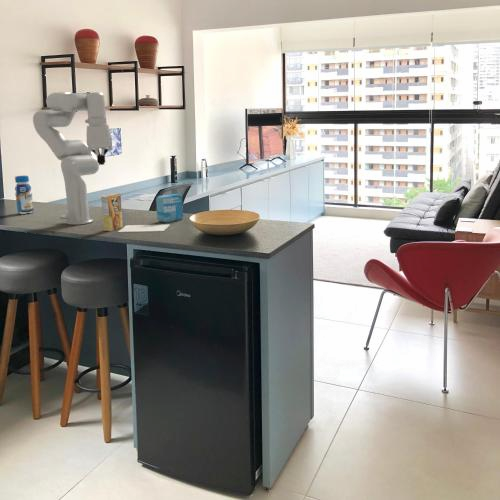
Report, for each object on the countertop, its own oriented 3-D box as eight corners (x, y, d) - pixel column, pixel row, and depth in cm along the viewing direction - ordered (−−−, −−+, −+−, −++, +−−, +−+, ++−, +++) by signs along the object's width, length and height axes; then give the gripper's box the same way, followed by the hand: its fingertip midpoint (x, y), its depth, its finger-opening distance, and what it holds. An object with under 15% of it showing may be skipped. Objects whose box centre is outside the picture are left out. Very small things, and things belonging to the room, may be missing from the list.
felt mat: (117, 232, 255) (117, 231, 254) (126, 226, 269) (126, 225, 269) (163, 231, 253) (163, 230, 253) (170, 224, 268) (170, 224, 268)
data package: (163, 222, 274) (161, 197, 271) (157, 221, 277) (155, 196, 275) (183, 219, 282) (182, 194, 280) (177, 218, 285) (176, 193, 283)
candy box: (115, 227, 267) (113, 193, 264) (123, 227, 266) (120, 193, 262) (103, 230, 260) (100, 196, 256) (111, 231, 258) (108, 196, 254)
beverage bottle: (22, 212, 323) (18, 175, 318) (37, 211, 322) (32, 175, 317) (14, 214, 315) (9, 177, 310) (29, 214, 313) (25, 176, 309)
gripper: (77, 122, 252) (82, 166, 256) (112, 121, 252) (116, 164, 256) (82, 122, 260) (87, 164, 264) (116, 121, 260) (120, 163, 263)
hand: (101, 164), depth 260 cm, fingers closed
